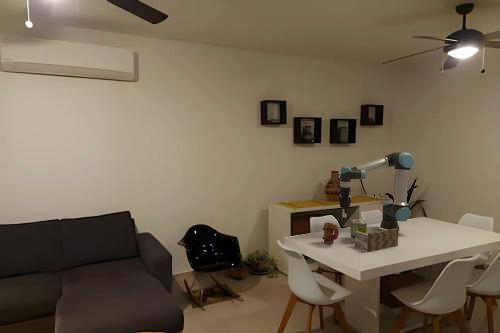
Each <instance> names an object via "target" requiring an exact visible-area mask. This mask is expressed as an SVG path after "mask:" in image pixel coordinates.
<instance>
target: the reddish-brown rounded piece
mask: <svg viewBox="0 0 500 333" xmlns="http://www.w3.org/2000/svg"><path fill="white" fill-rule="evenodd" d="M322 230H323V237H322V240H323V242H324V243H325V244H328V245H329V244H333V243H335V242H334V241H335V240H338V237H339V234H340V232H339V226H338V225H337V224H335V223H332V222H324V224H323V228H322Z"/></svg>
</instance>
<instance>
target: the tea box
mask: <svg viewBox="0 0 500 333" xmlns="http://www.w3.org/2000/svg"><path fill="white" fill-rule="evenodd" d="M367 229H368V228H367V222H366V220H365V219H359V218H351V219H350V240H351V242H352V243H354V244H355V232H362V233H365V234H367Z"/></svg>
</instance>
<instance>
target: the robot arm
mask: <svg viewBox="0 0 500 333" xmlns="http://www.w3.org/2000/svg"><path fill="white" fill-rule="evenodd" d="M414 164H415V157H414V156H413V155H412V154H411V153H409V152H392V153H389V154H387V155H384V156H382V157H381V158H377V159H374V160H372V161H368V162H366V163H362V164H360V165H356V166H354V167H351V166H341V169H340V194H338V196H337V197H338V201H339V202H338V203H339V207H340V208H341V211H342V212H341V213H342V218H347V214H348V209H350V208H351V202H352V199H353V196H351V194H350V193H351V184H352V183H351V182H352V180H364V179H366V177H367V173H370V172H373V171H376V170H379V169H382V168H386V169H387V168H389V167H394V171H395V172H396V173H395V174H396V175H395V187H394V188H395V189H394V190H395V191H394V201H393V202H392V201H389V202H387V201H386V202H385V201H384V202H383V203H382V217H381V218H382V220H381V222H380V225H379V228H383V229H387V230H390V229H395V228H396V229H398V232H399V231H400V226H399V223H398V222H407V221H408V220H409V219H410V218H411V215H412V212H411V210H410V208H409V203H408V202H407V198H408V197H407V196H408V180H409V172H411V170H412V169H411V168H413V166H414Z"/></svg>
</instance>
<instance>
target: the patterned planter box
mask: <svg viewBox="0 0 500 333" xmlns="http://www.w3.org/2000/svg"><path fill="white" fill-rule="evenodd" d="M354 246H355V247H357V248H361V249H362V250H366V251H367V252H369V253H372V252H374V251H375V252H376V251H381V250H384V249H390V248H394V247H398V246H399V231H398V229H396V228H395V229H390V230H387V229H383V228H380V227H377V231H374V232H369V233H366V234H365V233H362V232H355V243H354Z"/></svg>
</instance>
